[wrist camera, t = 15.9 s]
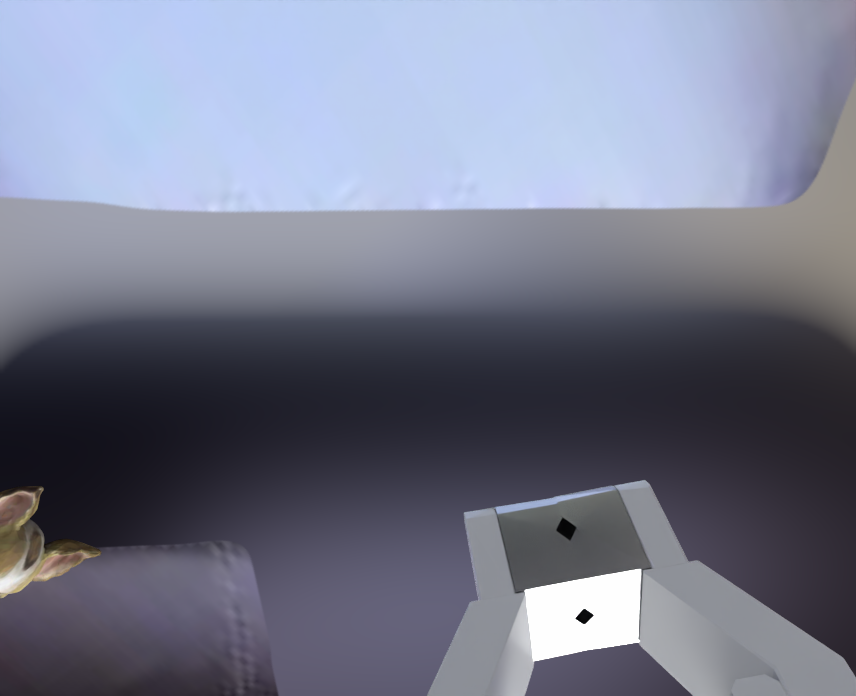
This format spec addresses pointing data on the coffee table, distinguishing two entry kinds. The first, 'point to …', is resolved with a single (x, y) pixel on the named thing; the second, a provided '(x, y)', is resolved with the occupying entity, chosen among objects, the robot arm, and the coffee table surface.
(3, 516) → the ceramic sculpture
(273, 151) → the coffee table surface
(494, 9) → the coffee table surface
